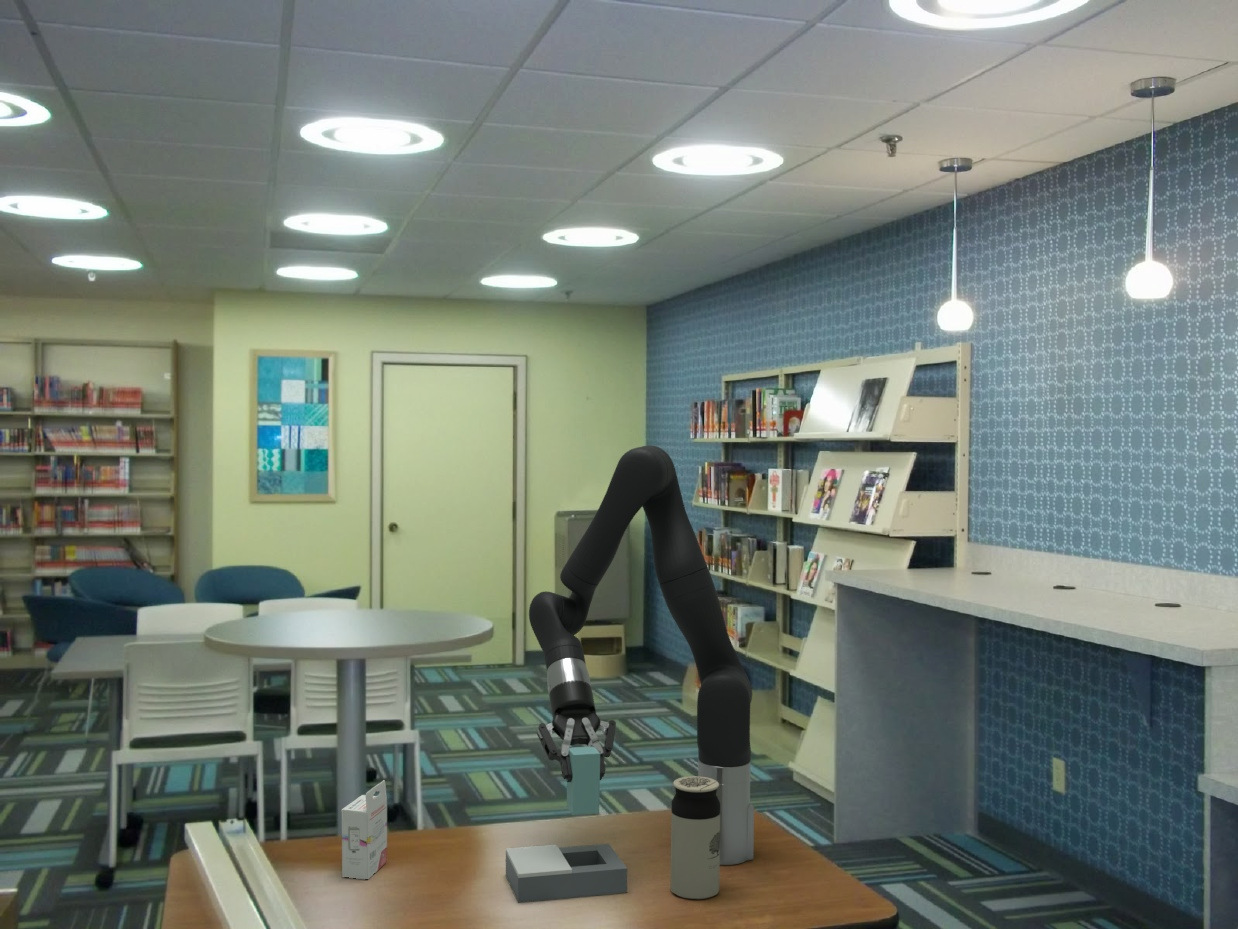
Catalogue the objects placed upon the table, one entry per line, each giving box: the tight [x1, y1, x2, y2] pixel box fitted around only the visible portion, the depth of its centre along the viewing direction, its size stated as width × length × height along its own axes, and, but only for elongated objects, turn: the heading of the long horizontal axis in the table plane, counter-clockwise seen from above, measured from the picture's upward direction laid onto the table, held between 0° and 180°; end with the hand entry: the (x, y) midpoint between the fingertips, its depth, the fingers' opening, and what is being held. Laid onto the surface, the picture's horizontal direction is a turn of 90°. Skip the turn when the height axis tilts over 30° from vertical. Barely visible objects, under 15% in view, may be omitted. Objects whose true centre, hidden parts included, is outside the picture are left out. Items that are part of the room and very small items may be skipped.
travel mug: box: [670, 775, 720, 900], centre depth 197 cm, size 8×8×18 cm
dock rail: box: [505, 843, 628, 904], centre depth 200 cm, size 18×12×5 cm, turn 105°
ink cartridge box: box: [340, 779, 388, 880], centre depth 205 cm, size 9×5×15 cm, turn 168°
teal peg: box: [566, 746, 601, 816], centre depth 201 cm, size 4×4×10 cm
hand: (585, 778), depth 199 cm, fingers closed on teal peg, 4 cm apart
